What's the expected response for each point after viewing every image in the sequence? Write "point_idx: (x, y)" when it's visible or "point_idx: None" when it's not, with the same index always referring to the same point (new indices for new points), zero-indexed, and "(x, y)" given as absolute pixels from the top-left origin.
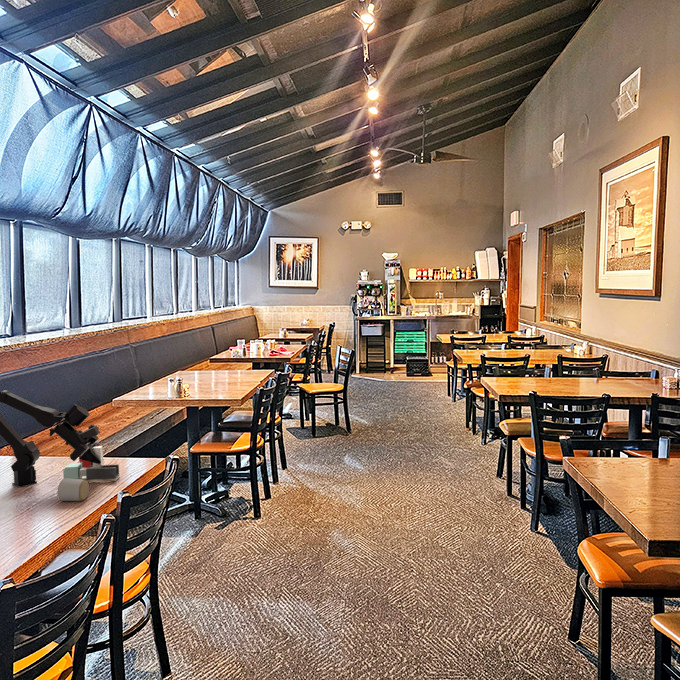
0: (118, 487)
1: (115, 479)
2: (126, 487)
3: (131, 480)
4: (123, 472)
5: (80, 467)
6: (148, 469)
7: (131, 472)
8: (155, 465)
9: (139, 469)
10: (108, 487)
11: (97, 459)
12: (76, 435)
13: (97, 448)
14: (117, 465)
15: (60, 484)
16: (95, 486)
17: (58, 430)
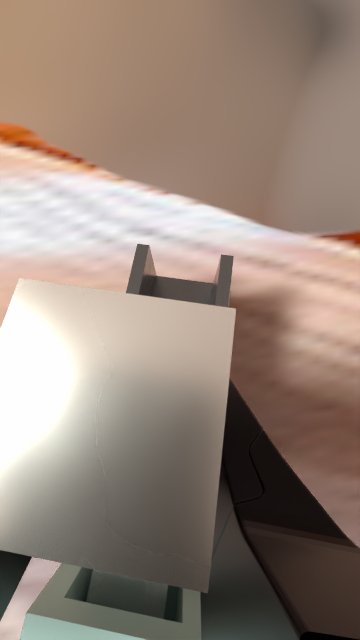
0: (336, 276)
1: (229, 293)
2: (343, 240)
3: (227, 226)
4: (58, 272)
5: (72, 590)
6: (60, 167)
7: (78, 235)
8: (4, 143)
9: (39, 203)
10: (327, 325)
11: (233, 394)
12: None
13: (223, 391)
14: (149, 253)
15: None
16: (293, 401)
17: None
